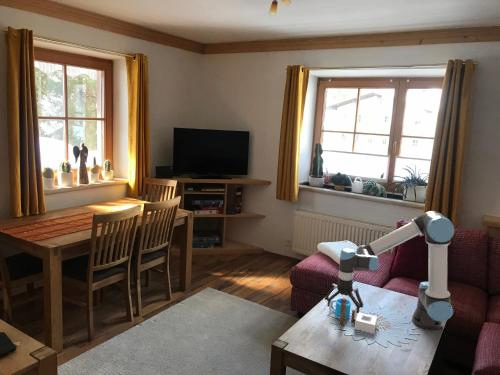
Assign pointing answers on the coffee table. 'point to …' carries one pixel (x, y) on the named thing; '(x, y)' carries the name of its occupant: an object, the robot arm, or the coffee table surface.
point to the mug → (338, 308)
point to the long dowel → (342, 311)
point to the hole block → (366, 322)
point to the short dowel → (353, 316)
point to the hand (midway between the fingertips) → (342, 315)
